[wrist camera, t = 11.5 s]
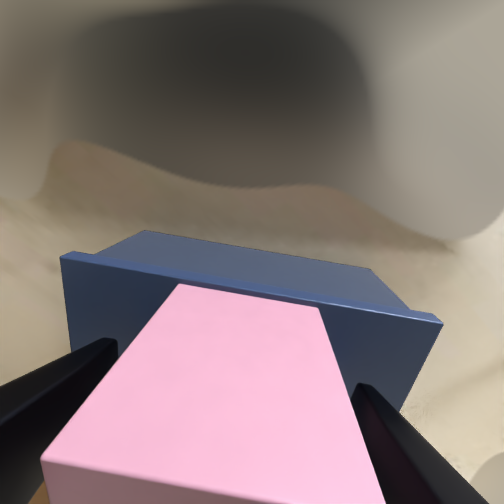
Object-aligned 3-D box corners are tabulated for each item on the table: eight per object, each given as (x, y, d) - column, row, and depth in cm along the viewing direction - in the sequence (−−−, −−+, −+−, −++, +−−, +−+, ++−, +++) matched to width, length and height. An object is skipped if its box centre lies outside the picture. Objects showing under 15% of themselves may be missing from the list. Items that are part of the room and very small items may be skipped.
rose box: (172, 387, 9) (72, 612, 5) (178, 282, 8) (37, 457, 3) (289, 408, 9) (308, 658, 5) (318, 307, 8) (395, 525, 3)
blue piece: (139, 412, 17) (89, 504, 12) (138, 223, 12) (58, 256, 8) (312, 444, 17) (329, 550, 12) (378, 264, 12) (445, 323, 8)
